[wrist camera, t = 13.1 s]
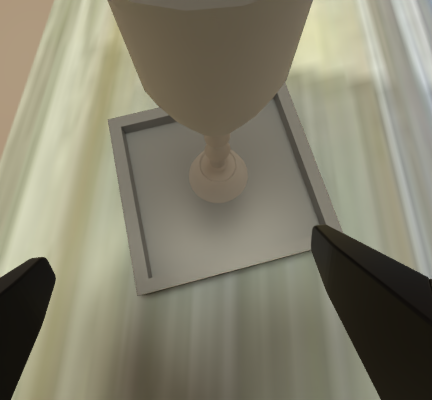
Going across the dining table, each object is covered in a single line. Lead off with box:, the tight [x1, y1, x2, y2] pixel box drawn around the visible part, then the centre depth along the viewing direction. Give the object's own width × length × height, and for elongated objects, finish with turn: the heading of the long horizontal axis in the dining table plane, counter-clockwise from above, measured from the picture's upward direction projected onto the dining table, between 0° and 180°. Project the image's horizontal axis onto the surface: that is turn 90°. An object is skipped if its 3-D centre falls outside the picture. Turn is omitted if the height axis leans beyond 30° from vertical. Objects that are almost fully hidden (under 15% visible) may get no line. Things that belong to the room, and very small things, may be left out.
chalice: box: [108, 0, 313, 203], centre depth 15 cm, size 7×7×18 cm
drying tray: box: [108, 83, 343, 296], centre depth 23 cm, size 15×16×2 cm
